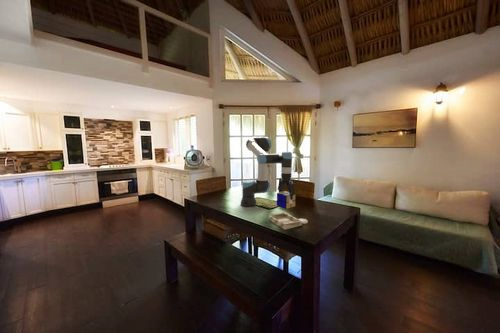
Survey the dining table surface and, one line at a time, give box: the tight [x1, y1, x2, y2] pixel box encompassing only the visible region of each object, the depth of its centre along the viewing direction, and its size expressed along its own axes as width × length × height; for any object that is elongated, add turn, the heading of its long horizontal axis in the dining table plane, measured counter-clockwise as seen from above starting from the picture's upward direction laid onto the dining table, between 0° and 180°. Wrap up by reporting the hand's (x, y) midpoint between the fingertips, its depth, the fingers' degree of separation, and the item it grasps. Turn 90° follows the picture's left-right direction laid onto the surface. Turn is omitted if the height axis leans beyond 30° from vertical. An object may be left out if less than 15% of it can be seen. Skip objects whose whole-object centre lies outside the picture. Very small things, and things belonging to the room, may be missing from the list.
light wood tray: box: [268, 212, 303, 230], centre depth 158 cm, size 20×15×3 cm
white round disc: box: [298, 218, 309, 225], centre depth 160 cm, size 8×8×1 cm
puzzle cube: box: [276, 190, 296, 210], centre depth 157 cm, size 10×10×10 cm
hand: (285, 201), depth 157 cm, fingers closed on puzzle cube, 10 cm apart
